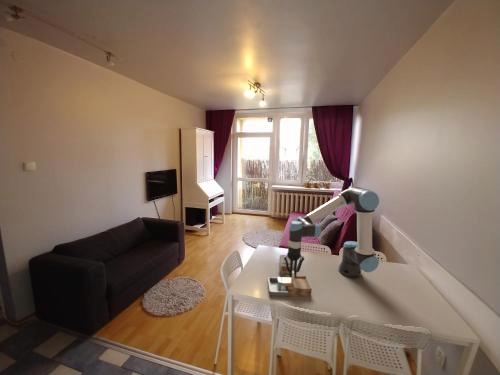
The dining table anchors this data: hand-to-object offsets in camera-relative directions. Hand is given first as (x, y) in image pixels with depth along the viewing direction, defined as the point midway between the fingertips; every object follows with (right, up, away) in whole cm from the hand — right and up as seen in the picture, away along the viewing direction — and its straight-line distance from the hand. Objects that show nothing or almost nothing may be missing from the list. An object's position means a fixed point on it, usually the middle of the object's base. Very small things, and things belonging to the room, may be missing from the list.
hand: (292, 281), depth 142 cm
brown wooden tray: (+3, -5, +1) cm, 6 cm away
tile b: (-7, -2, 0) cm, 7 cm away
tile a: (-4, -1, 0) cm, 4 cm away
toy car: (0, -2, +23) cm, 23 cm away
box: (-9, -5, +1) cm, 11 cm away
